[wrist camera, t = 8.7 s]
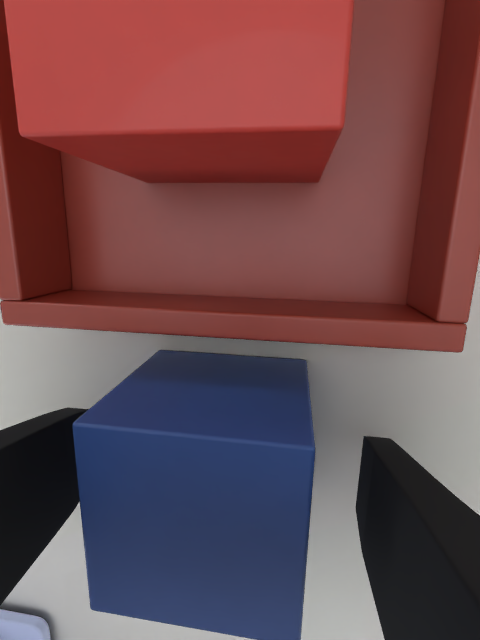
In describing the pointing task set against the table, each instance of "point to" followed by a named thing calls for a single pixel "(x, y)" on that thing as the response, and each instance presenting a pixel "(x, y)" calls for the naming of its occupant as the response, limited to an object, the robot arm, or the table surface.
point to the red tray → (273, 214)
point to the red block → (184, 85)
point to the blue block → (200, 493)
